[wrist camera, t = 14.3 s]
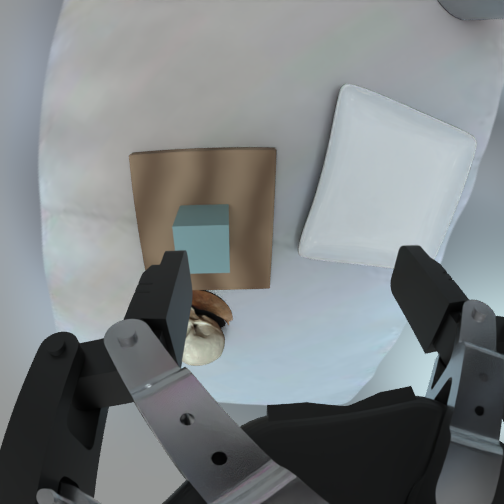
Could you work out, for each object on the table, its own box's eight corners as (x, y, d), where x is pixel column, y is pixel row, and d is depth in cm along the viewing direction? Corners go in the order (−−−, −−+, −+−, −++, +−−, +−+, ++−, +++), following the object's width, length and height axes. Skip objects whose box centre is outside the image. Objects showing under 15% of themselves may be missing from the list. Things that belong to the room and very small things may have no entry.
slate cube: (228, 204, 35) (228, 225, 30) (229, 247, 37) (229, 272, 33) (180, 205, 34) (172, 226, 30) (184, 248, 37) (177, 273, 32)
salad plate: (419, 263, 43) (429, 275, 40) (291, 245, 40) (296, 259, 37) (465, 133, 33) (480, 139, 30) (331, 80, 30) (341, 80, 27)
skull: (135, 332, 44) (143, 343, 35) (166, 275, 48) (181, 271, 39) (200, 365, 48) (223, 382, 39) (227, 311, 52) (256, 315, 43)
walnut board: (274, 147, 33) (276, 150, 32) (268, 281, 42) (269, 288, 41) (132, 152, 32) (129, 155, 31) (151, 283, 41) (149, 290, 40)
